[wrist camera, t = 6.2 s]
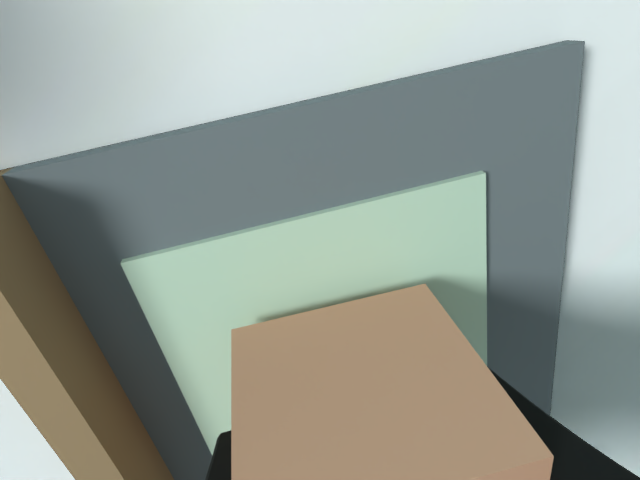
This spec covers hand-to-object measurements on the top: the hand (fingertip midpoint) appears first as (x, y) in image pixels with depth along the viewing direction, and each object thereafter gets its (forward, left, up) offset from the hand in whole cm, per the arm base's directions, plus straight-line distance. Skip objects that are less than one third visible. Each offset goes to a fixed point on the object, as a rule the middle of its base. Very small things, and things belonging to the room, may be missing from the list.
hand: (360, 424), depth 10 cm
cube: (0, 0, -2) cm, 2 cm away
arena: (-1, 0, -3) cm, 3 cm away
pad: (0, 0, -3) cm, 3 cm away
